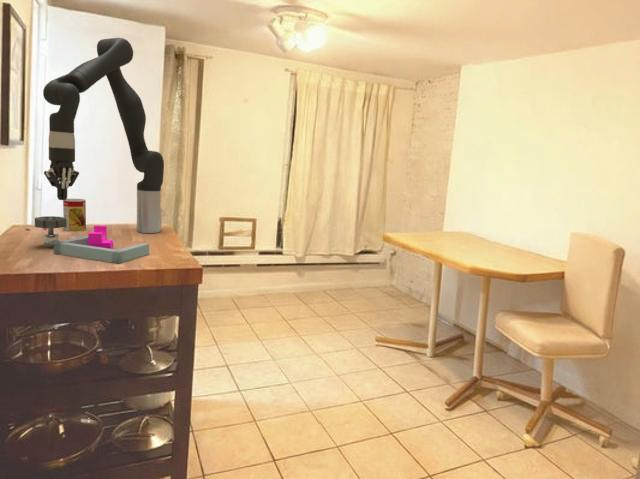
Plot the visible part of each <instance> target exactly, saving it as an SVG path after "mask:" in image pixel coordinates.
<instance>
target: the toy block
mask: <svg viewBox="0 0 640 479" xmlns="http://www.w3.org/2000/svg"><path fill="white" fill-rule="evenodd" d="M107 228H108V227H107V225H93V231H90V232H88V233H87V236H88V246H95V247H101V248H108V249H114V239H108V236H107V234H108V233H107V232H108V230H107Z"/></svg>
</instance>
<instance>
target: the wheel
mask: <svg viewBox="0 0 640 479" xmlns="http://www.w3.org/2000/svg"><path fill="white" fill-rule="evenodd" d="M48 218H53V219H48ZM34 227H35V228H38V229H48V228H54V229H61V228H64V227H66V218H65V217H64V216H53V215H51V216H49V215H47V216H46V215H45V216H37V217H34Z"/></svg>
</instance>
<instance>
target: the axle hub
mask: <svg viewBox="0 0 640 479" xmlns="http://www.w3.org/2000/svg"><path fill="white" fill-rule="evenodd" d="M48 219H53V218H48ZM54 229H55V228H47V233H44V234H43V236H42V237H43V248H47V249H54V243H55V242H60V239H59V238H60V236H59V234H58V233H55V232H54Z"/></svg>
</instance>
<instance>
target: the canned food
mask: <svg viewBox="0 0 640 479" xmlns="http://www.w3.org/2000/svg"><path fill="white" fill-rule="evenodd" d="M62 204H63V205H62V206H63V214H62V215H63V217H65V218H66V227H63V230H64V231H66V232H82V231H83V230H84V231H86V230H87V224H86V223H87V216H86V215H87V212H86V211H87V210H86V209H87V205H86V199H85V198H83V199H82V198H67V200H62Z"/></svg>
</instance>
